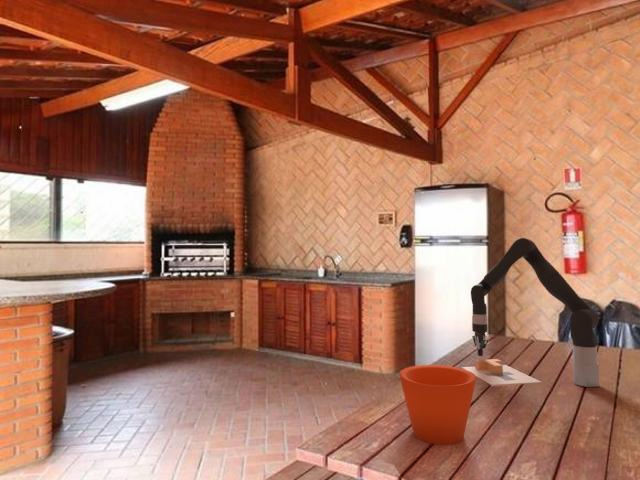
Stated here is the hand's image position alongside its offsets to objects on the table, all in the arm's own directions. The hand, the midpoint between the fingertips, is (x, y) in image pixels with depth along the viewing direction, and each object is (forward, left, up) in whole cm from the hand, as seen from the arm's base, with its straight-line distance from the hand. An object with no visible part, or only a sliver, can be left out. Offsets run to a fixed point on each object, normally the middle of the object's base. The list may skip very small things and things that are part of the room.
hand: (480, 355), depth 235 cm
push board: (-18, 0, -5) cm, 19 cm away
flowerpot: (-78, +55, -5) cm, 96 cm away
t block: (-12, 0, -5) cm, 13 cm away
